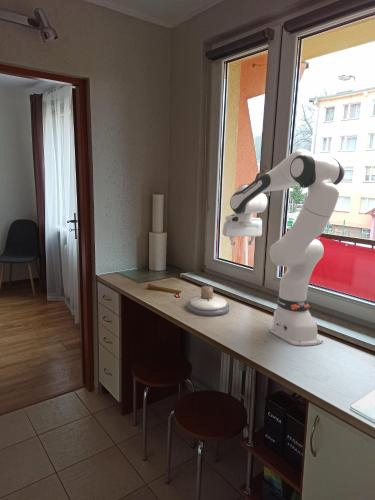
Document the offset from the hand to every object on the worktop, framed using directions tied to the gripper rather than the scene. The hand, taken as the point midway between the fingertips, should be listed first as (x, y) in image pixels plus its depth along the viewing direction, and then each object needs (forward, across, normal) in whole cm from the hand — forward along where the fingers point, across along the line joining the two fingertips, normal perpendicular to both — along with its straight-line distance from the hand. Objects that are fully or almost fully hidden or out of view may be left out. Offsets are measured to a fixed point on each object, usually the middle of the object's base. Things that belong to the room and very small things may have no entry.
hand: (241, 245), depth 186 cm
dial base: (+29, +20, +10) cm, 36 cm away
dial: (+27, +20, +10) cm, 35 cm away
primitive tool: (+30, +34, -22) cm, 50 cm away
